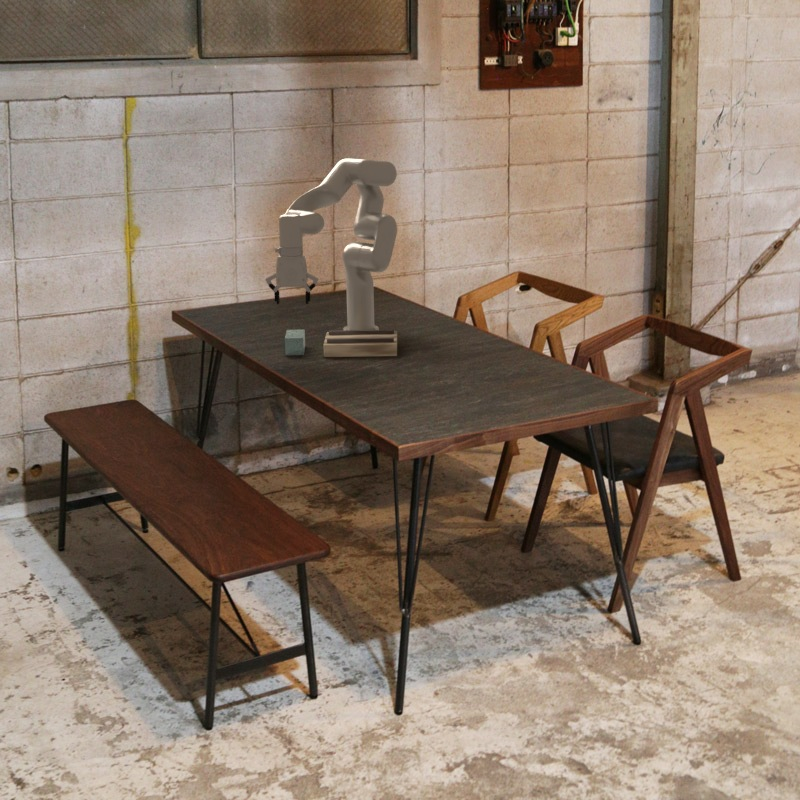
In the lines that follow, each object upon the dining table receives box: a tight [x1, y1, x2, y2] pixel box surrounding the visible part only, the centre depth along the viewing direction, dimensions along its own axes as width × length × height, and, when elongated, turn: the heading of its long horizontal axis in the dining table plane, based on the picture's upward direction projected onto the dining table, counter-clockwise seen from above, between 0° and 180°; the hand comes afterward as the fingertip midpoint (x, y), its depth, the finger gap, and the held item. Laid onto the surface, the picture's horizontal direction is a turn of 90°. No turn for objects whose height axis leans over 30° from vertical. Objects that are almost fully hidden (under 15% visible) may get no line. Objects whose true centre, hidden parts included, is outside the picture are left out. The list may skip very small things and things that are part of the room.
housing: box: [284, 329, 306, 356], centre depth 431 cm, size 12×6×6 cm, turn 2°
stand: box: [323, 329, 398, 358], centre depth 431 cm, size 18×24×5 cm
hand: (292, 303), depth 427 cm, fingers open, 9 cm apart
